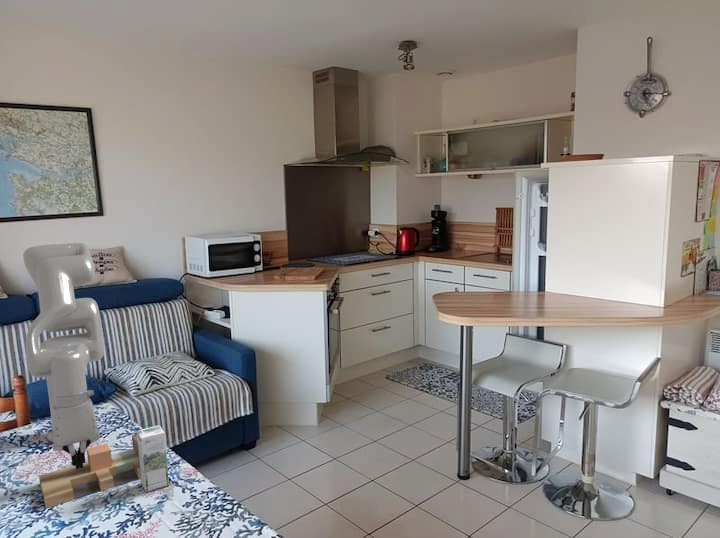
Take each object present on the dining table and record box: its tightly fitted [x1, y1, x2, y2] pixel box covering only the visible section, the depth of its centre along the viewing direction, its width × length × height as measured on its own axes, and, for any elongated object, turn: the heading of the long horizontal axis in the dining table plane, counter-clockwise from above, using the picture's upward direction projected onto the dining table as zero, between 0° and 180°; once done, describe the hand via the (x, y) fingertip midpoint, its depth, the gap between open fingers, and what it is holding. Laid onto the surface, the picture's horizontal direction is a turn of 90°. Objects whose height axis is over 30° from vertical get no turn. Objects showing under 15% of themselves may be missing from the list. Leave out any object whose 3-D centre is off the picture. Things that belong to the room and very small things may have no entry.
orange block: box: [86, 443, 112, 472], centre depth 142 cm, size 5×5×4 cm
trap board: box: [38, 433, 141, 509], centre depth 140 cm, size 14×24×6 cm, turn 126°
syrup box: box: [136, 425, 170, 493], centre depth 135 cm, size 6×6×14 cm
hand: (79, 466), depth 140 cm, fingers closed
